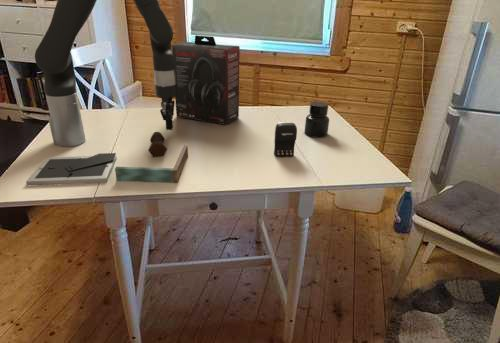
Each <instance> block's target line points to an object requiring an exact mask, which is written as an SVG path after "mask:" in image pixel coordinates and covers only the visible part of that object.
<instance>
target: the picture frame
mask: <svg viewBox="0 0 500 343" xmlns="http://www.w3.org/2000/svg"><path fill="white" fill-rule="evenodd" d="M117 160H118V158H117V153H116V152H112V153H110V152H106V153H97V154H95V155H81V156H77V155H76V156H54V157H53V156H51V157H45V158H44V160H43V161H42V162H41V163H40V164H39V165H38V166H37V168H36V169H35V170H34V171H33V172H32V174H31V175H30V176H29V177H28V179H27V180H26V181H25V182H26V186H27V187H29V186H28V185H38V186H55V184H56V186H58V185H57V184H62V185H78V184H79V185H80V184H82V185H84V184H105V183H108V181H109V178H110V176H111V174H112V172H113V169H114V167H115V165H116V162H117Z"/></svg>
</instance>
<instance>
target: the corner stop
mask: <svg viewBox="0 0 500 343" xmlns="http://www.w3.org/2000/svg"><path fill="white" fill-rule="evenodd" d="M188 147H189V146H188V145H187V144H183V146H182V148H181V150H180V152H179V155H178V157H177V160H176V162H175V164H174V166H173V168H171V167H170V168H169V167H168V168H167V167H164V168H163V167H141V166H140V167H139V166H137V167H136V166H115V168H114V172H115V178H116V182H135V183H162V184H163V183H164V184H165V183H166V184H167V183H168V184H178V183H179V180H180V179H181V175H182V173H183V171H184V168H185V166H186V163H187V160H188V158H189V148H188Z"/></svg>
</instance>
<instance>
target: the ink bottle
mask: <svg viewBox="0 0 500 343" xmlns="http://www.w3.org/2000/svg"><path fill="white" fill-rule="evenodd" d="M328 111H329V104H328V103H327V102H324V101H311V102H310V104H309V114H307V116H306V117H305V124H304V134H305V135H307V136H308V137H311V138H324V137H327V136H328V133H329V125H330V118H329V116H328Z"/></svg>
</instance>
